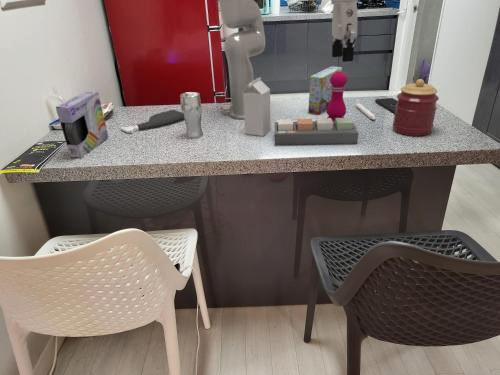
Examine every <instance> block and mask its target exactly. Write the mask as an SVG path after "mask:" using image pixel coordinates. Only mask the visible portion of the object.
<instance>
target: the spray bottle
mask: <svg viewBox="0 0 500 375" xmlns="http://www.w3.org/2000/svg"><path fill="white" fill-rule="evenodd" d="M183 121H185V120H184V117H183V113H182V111H181V112H180V111H179V110H176V109H170V110H167V111H163V112H158V113H156V114H152V115H151V116H150V117H149V119H148V121H145V122H141V123H137V124H135V125H134V124H132V125H130V126H121V127H120V130H121V131H122V132H124V133H126V134H130V133H132V134H134V133H135V132H134V131H136V132H138V131H145V129H146V130H151V128H152V129H159V128H162V126H163V127H167V126H170V125H174V124H177V123H179V122H183ZM158 127H159V128H158ZM137 130H138V131H137Z"/></svg>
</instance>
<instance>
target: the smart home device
mask: <svg viewBox="0 0 500 375" xmlns="http://www.w3.org/2000/svg"><path fill="white" fill-rule="evenodd" d="M374 102H375V103H376V104H377V105H378V106H380V107H381V108H384V109H385V110H386V111H388V112H389V111H390V113H391V114H392V113H393V115H394V116H395V110H396V104H397V103H398V99H396V98H393V97H387V98H386V97H385V98H375V100H374Z"/></svg>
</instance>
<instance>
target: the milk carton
mask: <svg viewBox="0 0 500 375" xmlns="http://www.w3.org/2000/svg"><path fill="white" fill-rule="evenodd" d="M247 86H248V89H247V90H246V91H245V92H244V93H243V100H244V118H245V119H244V133H245V134H244V135H251V136H260V137H264V136H265V135H267V134H268V133H269V132H270V131H272V128H271V127H272V126H271V124H272V123H271V121H272V120H271V88H269V87H268V86H267V85H266V84H265V83H264V82H263V81H262V78H261V76H260V77H257V78H255V79H254V81H252V82H251V83H250V84H248V85H247Z"/></svg>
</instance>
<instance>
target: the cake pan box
mask: <svg viewBox="0 0 500 375" xmlns="http://www.w3.org/2000/svg"><path fill="white" fill-rule="evenodd" d="M99 94H100V93H99V91H97V90H86V91H84V92H82V93H80V94H78V95H75V96H73V97H71V98H69V99H68V100H66V101H64V102H62V103H60V104H58V105H56V106H55V110H56V114H57V117H58V121H59V123H60V127H61V130H62V133H63V137H64V141H65V144H66V147H67V150H68V154H69V157H70V158H71V157H77V158H76V159H83V158H84V157H85V156H87V155H88V154H89V153H90V152H92V151H93V150H94V149H95V148H97V147H98V146H99V145H101V142H102V143H103V142H104V141H106V139H108V138H109V134H108V129H107V124H106V120H105V116H104V111H103V107H102V103H101V99H100V95H99ZM96 146H97V147H96ZM92 149H93V150H92ZM91 150H92V151H91ZM88 152H89V153H88ZM87 153H88V154H87ZM86 154H87V155H86ZM84 155H85V156H84ZM83 156H84V157H83ZM82 157H83V158H82Z"/></svg>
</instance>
